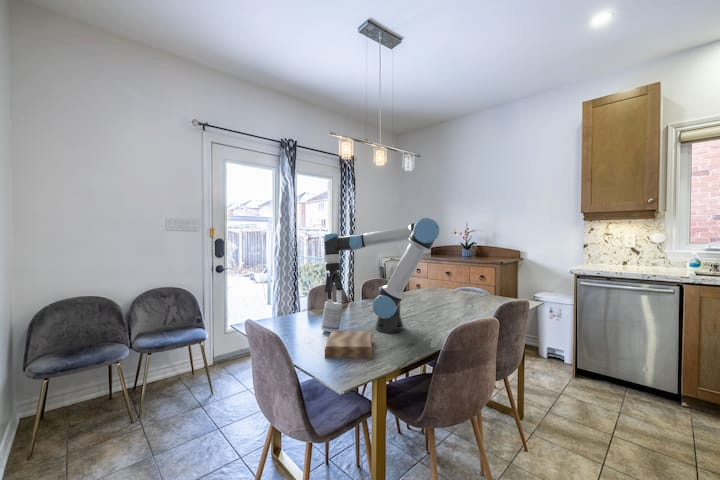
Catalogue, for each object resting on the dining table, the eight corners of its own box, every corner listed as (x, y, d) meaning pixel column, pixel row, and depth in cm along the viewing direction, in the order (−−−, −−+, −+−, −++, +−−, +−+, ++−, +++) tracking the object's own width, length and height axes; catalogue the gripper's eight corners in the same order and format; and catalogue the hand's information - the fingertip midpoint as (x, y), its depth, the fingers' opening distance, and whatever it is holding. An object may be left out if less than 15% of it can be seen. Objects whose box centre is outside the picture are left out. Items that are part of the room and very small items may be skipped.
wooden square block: (371, 341, 149) (371, 331, 149) (372, 358, 129) (372, 347, 129) (330, 341, 150) (330, 331, 149) (324, 358, 130) (324, 346, 129)
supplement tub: (341, 333, 161) (346, 304, 163) (325, 332, 156) (330, 303, 158) (333, 328, 169) (337, 302, 171) (317, 328, 164) (322, 300, 166)
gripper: (333, 263, 173) (336, 301, 171) (316, 263, 149) (319, 307, 147) (346, 262, 172) (349, 301, 169) (331, 262, 147) (334, 307, 145)
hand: (335, 304), depth 158 cm, fingers open, 13 cm apart
